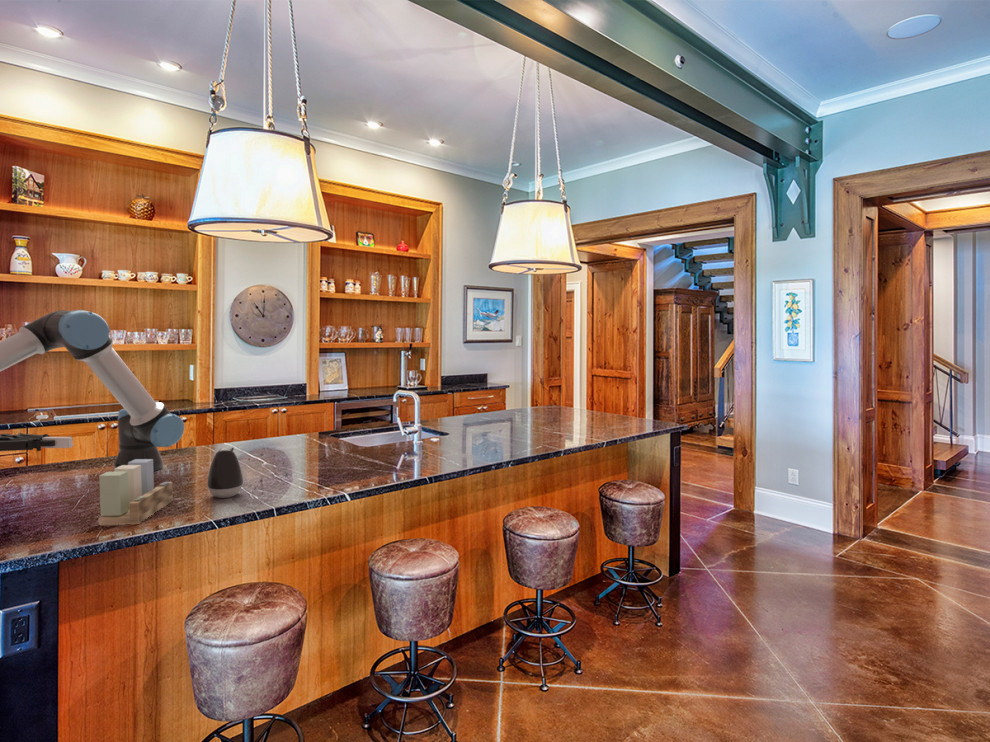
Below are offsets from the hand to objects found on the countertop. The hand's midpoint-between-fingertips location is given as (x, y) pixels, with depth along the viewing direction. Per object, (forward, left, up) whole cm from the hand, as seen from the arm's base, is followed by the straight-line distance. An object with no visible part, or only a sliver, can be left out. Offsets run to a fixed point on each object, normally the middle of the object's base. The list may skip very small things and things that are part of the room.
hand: (70, 442), depth 146 cm
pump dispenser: (-22, +31, -22) cm, 44 cm away
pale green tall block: (0, +10, -20) cm, 22 cm away
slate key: (-14, +10, -20) cm, 26 cm away
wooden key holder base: (-7, +13, -22) cm, 26 cm away
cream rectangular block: (-7, +10, -20) cm, 23 cm away
